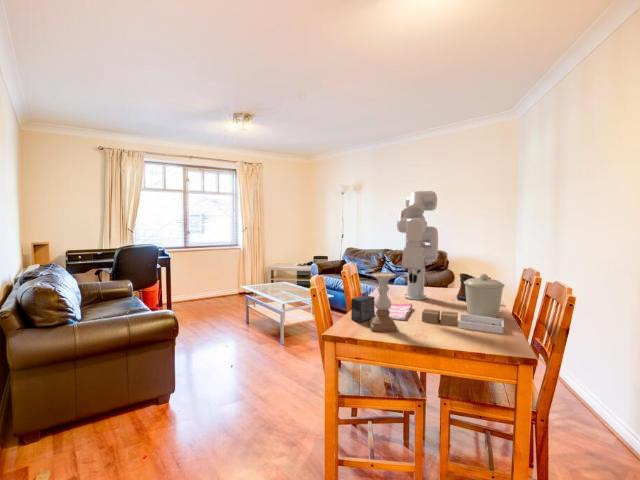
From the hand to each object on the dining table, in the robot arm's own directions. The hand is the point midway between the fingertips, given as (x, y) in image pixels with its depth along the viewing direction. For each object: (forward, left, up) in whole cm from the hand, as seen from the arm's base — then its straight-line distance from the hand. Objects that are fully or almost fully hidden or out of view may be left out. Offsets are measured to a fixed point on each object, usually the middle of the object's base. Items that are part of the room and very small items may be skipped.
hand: (412, 282), depth 169 cm
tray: (0, +30, -17) cm, 35 cm away
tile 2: (0, +17, -17) cm, 24 cm away
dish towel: (-4, -11, -18) cm, 21 cm away
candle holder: (+21, -8, -17) cm, 29 cm away
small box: (+13, -20, -17) cm, 30 cm away
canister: (-17, +31, -17) cm, 39 cm away
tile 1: (0, +9, -17) cm, 19 cm away
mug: (-49, +25, -17) cm, 57 cm away
